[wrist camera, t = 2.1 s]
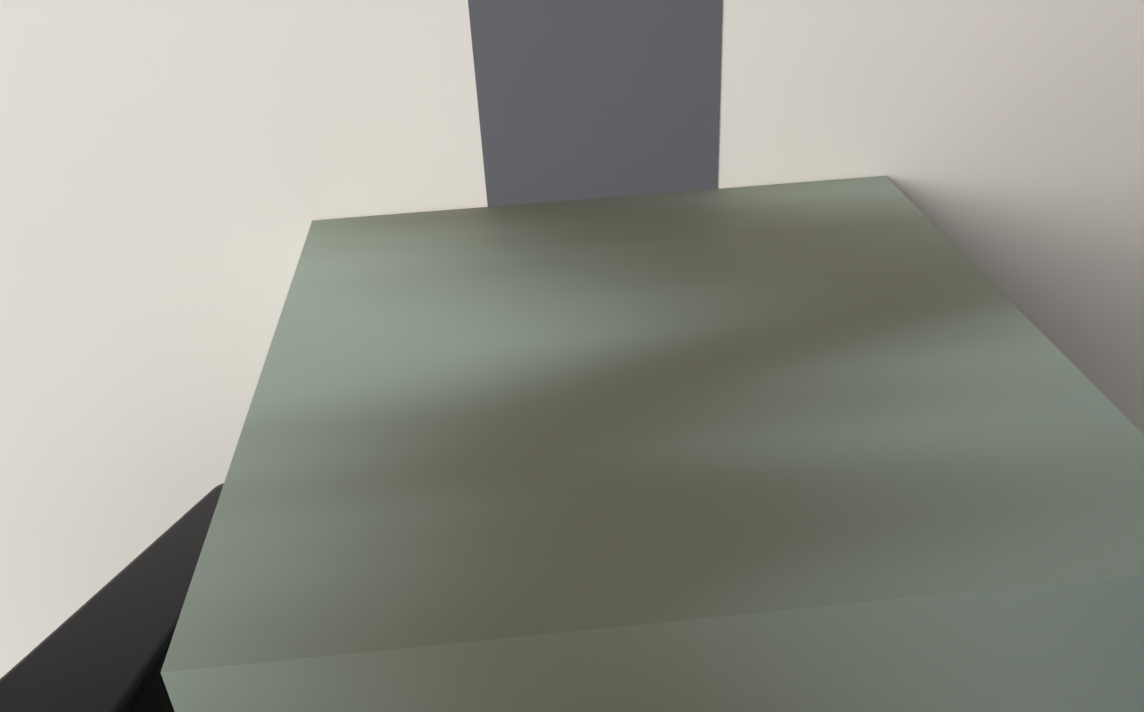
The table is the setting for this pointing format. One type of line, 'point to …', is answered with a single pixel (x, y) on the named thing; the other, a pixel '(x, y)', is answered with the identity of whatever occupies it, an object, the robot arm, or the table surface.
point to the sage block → (666, 474)
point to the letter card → (481, 191)
